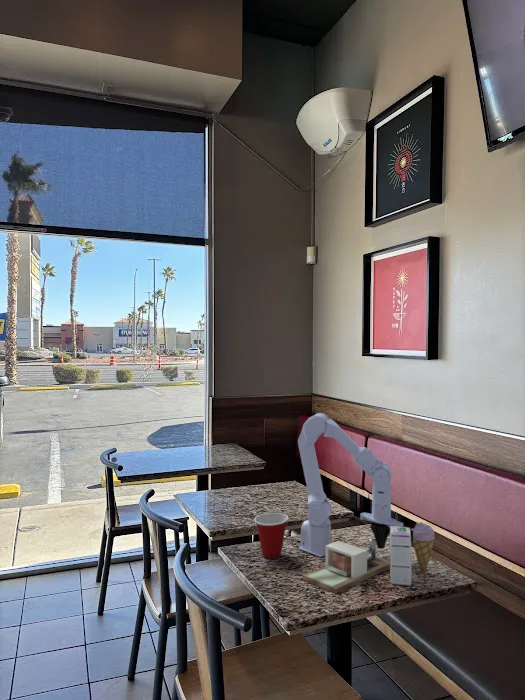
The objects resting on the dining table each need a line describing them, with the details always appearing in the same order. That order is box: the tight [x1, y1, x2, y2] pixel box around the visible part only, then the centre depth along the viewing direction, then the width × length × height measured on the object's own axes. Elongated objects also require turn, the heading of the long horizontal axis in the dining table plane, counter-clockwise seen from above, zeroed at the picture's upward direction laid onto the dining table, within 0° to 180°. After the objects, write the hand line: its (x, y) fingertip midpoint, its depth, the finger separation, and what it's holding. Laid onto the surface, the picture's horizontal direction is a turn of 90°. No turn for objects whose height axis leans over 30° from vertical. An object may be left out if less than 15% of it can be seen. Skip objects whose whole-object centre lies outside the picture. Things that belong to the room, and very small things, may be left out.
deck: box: [301, 553, 390, 594], centre depth 156 cm, size 12×27×1 cm, turn 133°
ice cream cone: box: [410, 521, 436, 574], centre depth 157 cm, size 7×6×15 cm
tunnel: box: [324, 540, 368, 578], centre depth 155 cm, size 10×6×6 cm, turn 43°
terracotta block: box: [333, 552, 351, 571], centre depth 154 cm, size 4×4×4 cm
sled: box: [327, 537, 377, 576], centre depth 159 cm, size 7×18×5 cm, turn 133°
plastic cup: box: [253, 512, 289, 559], centre depth 169 cm, size 11×11×12 cm
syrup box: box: [389, 525, 412, 586], centre depth 151 cm, size 6×6×14 cm
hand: (381, 547), depth 167 cm, fingers closed
